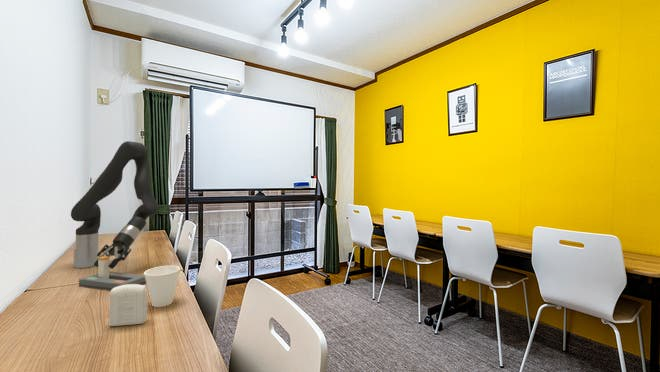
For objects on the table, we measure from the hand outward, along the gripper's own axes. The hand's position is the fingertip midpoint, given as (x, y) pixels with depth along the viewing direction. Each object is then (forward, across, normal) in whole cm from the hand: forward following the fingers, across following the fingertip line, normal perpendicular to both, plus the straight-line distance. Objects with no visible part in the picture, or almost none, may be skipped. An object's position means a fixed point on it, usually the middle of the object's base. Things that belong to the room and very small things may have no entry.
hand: (102, 266), depth 129 cm
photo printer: (+23, +44, -13) cm, 52 cm away
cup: (+12, +43, -2) cm, 44 cm away
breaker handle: (+4, 0, +4) cm, 6 cm away
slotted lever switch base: (+5, +7, +5) cm, 10 cm away
